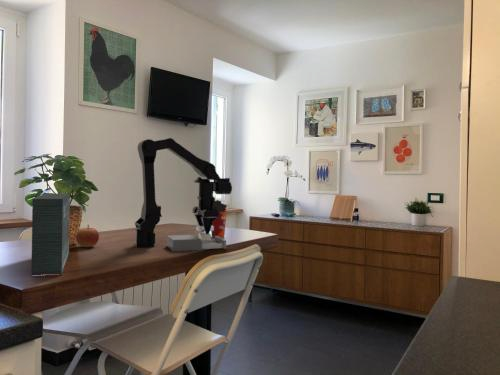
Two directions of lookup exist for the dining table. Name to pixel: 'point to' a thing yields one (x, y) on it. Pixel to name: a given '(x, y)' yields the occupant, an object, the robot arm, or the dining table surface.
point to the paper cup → (219, 225)
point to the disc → (201, 228)
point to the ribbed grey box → (50, 233)
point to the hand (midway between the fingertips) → (204, 232)
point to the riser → (204, 236)
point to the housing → (184, 242)
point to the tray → (214, 243)
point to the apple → (87, 237)
